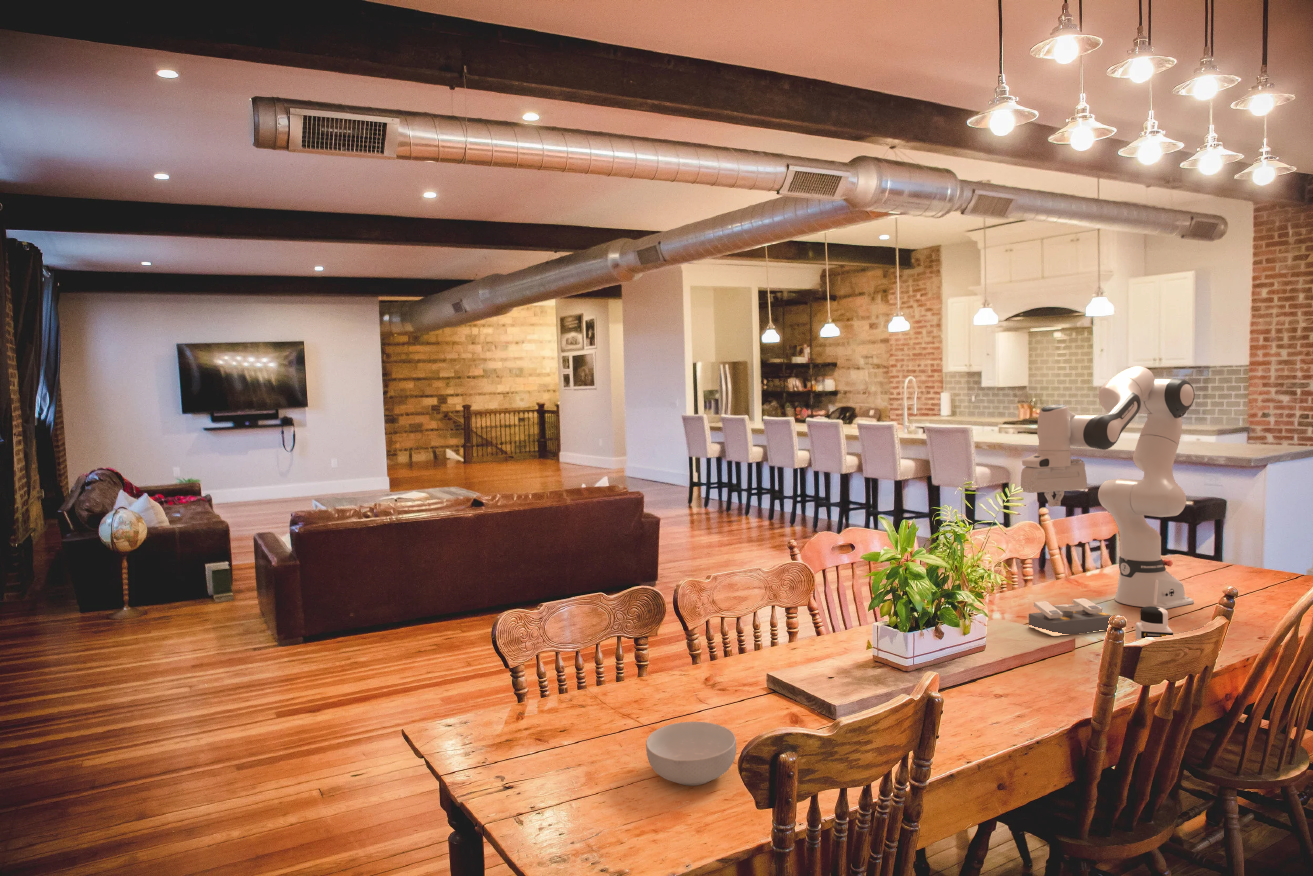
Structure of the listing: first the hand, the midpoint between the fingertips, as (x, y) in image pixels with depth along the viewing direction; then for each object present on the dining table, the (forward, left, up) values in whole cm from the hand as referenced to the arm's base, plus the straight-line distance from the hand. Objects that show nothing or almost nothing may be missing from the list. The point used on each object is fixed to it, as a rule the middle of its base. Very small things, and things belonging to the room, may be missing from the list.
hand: (1054, 506), depth 240 cm
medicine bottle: (-2, +34, -34) cm, 48 cm away
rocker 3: (-4, +9, -28) cm, 30 cm away
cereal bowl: (+130, +64, -34) cm, 149 cm away
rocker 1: (+9, +9, -28) cm, 31 cm away
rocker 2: (+3, +9, -28) cm, 29 cm away
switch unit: (+2, +9, -34) cm, 35 cm away
